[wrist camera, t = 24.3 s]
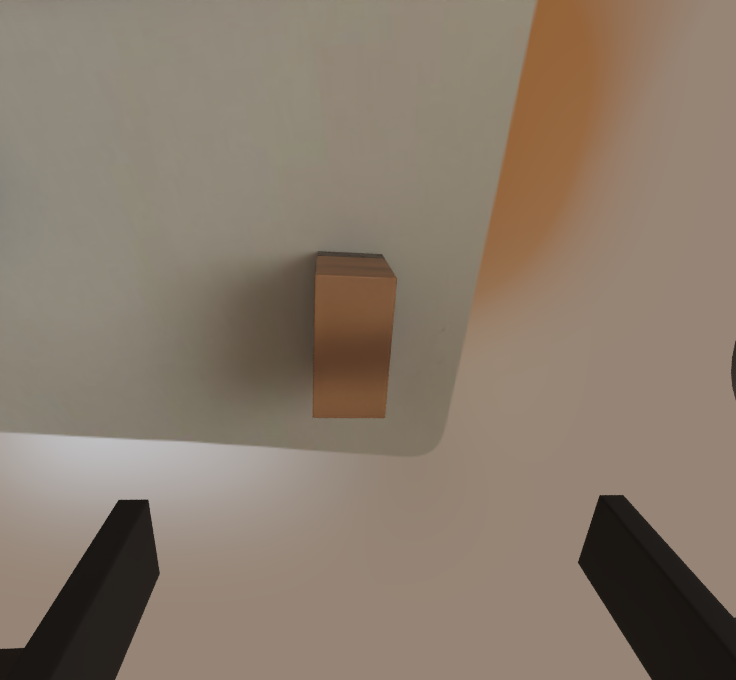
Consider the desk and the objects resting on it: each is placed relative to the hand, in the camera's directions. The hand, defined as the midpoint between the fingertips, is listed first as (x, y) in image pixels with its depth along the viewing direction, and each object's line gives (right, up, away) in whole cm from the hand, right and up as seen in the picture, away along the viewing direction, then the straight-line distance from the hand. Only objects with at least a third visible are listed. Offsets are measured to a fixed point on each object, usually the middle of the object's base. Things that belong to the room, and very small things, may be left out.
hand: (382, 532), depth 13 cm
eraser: (-2, +8, +19) cm, 20 cm away
